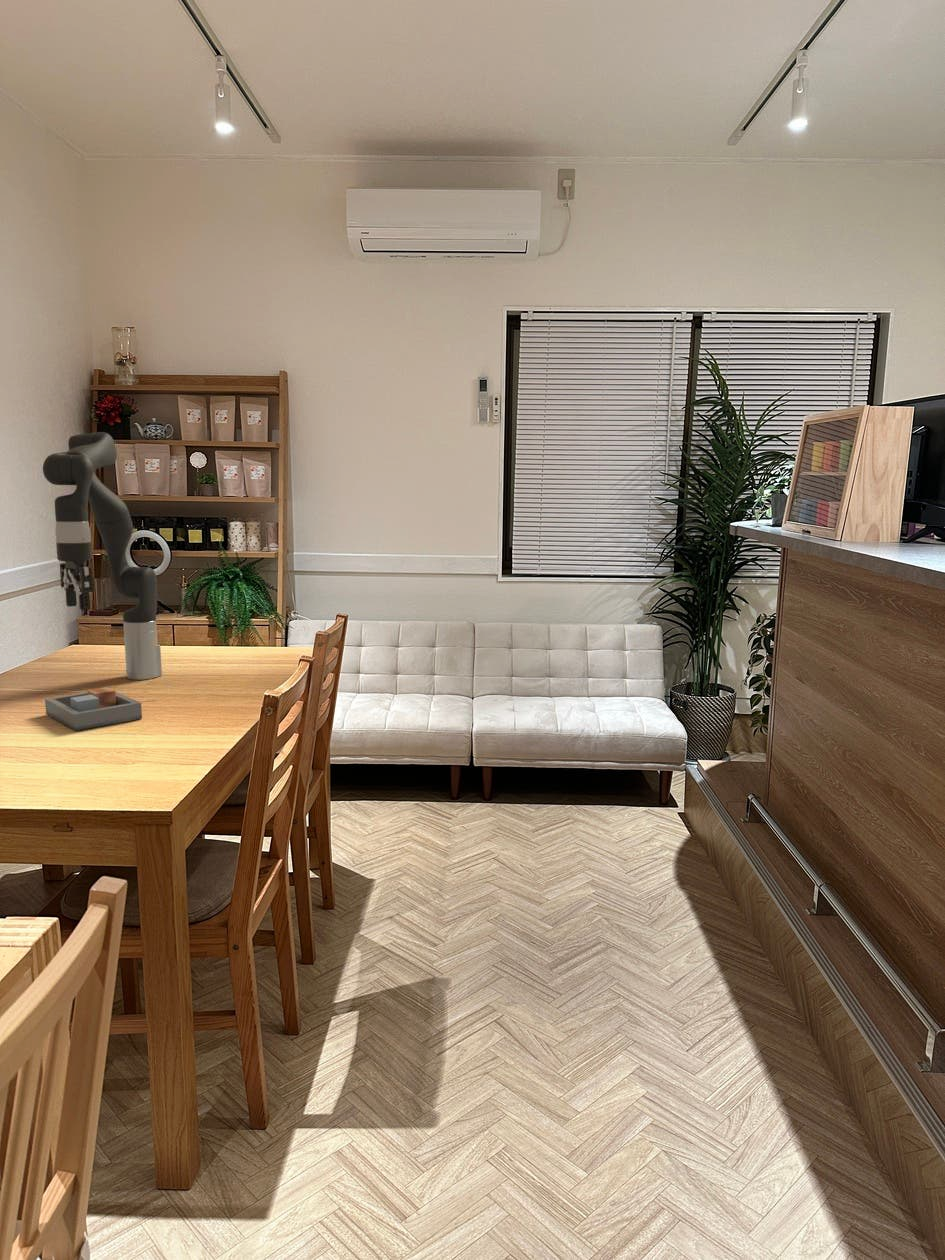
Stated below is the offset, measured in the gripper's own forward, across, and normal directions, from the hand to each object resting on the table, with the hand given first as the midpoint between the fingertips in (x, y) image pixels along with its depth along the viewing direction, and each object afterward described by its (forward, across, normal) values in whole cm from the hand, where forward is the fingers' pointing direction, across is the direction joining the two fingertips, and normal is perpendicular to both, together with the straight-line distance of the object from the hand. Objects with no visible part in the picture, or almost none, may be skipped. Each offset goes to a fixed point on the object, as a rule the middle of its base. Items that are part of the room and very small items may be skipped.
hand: (78, 608), depth 206 cm
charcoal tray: (+28, +3, -3) cm, 28 cm away
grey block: (+27, 0, 0) cm, 27 cm away
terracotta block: (+27, +5, -6) cm, 28 cm away
